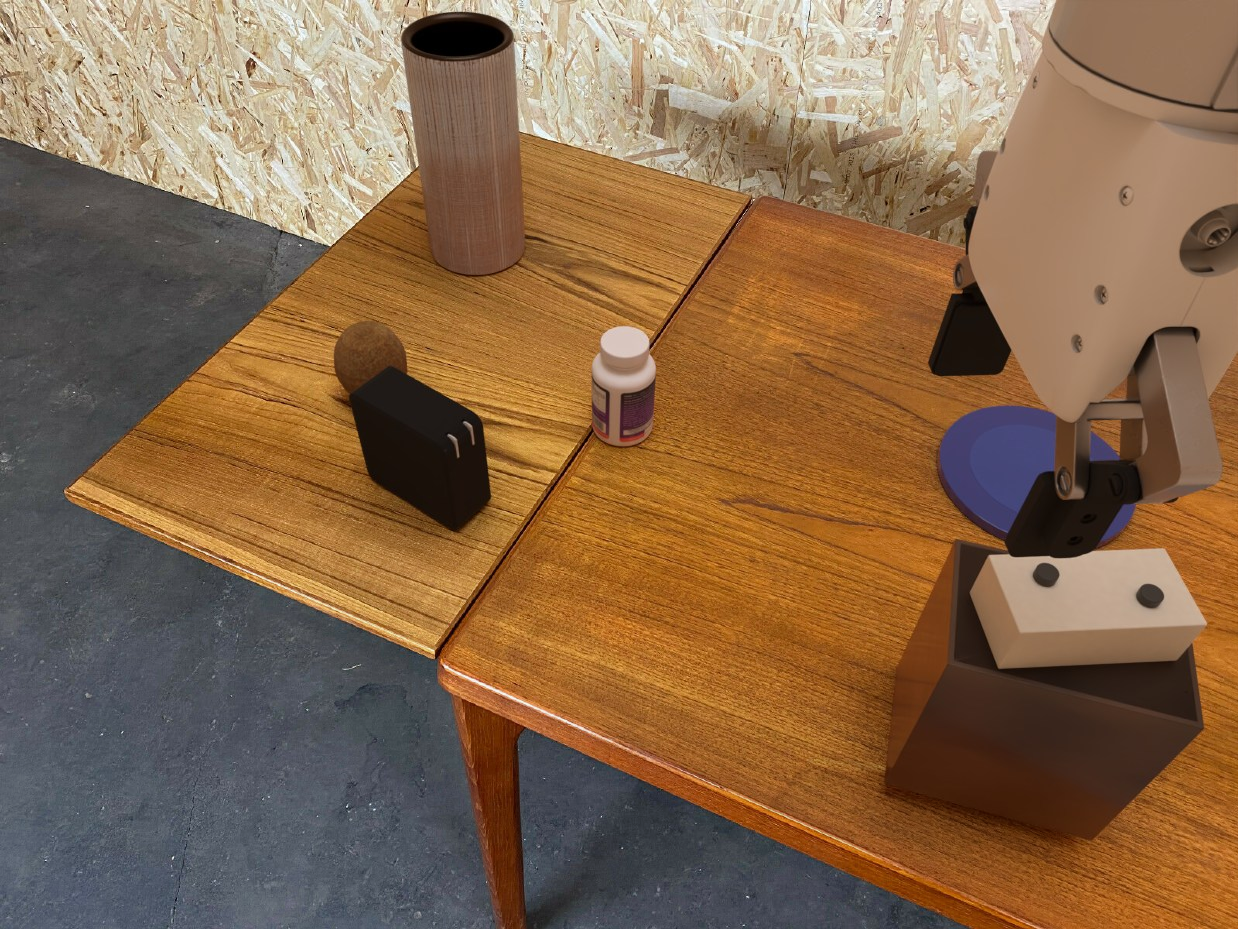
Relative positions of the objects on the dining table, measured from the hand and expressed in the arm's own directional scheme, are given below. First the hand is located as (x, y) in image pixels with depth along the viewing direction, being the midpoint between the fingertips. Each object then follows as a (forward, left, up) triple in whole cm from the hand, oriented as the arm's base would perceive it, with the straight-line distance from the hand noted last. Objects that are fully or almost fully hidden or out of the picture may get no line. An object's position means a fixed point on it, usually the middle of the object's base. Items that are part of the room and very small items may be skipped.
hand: (1001, 452), depth 38 cm
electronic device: (+36, -16, -32) cm, 51 cm away
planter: (+45, -49, -32) cm, 74 cm away
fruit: (+45, -25, -32) cm, 61 cm away
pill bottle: (+23, -28, -32) cm, 49 cm away
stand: (-9, -6, -32) cm, 34 cm away
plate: (-12, -32, -32) cm, 47 cm away
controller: (-9, -6, -17) cm, 20 cm away
